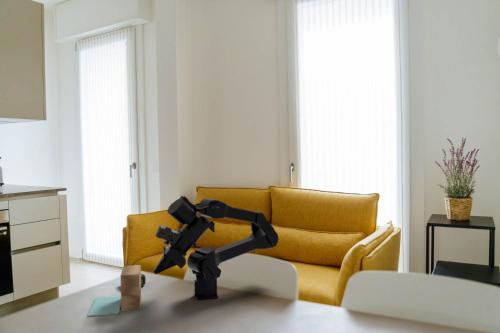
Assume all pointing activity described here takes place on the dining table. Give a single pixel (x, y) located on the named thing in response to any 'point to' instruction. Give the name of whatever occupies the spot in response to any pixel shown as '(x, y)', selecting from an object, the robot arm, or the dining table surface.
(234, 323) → the dining table surface
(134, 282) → the light brown wooden block
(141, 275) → the tape measure
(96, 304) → the mat
